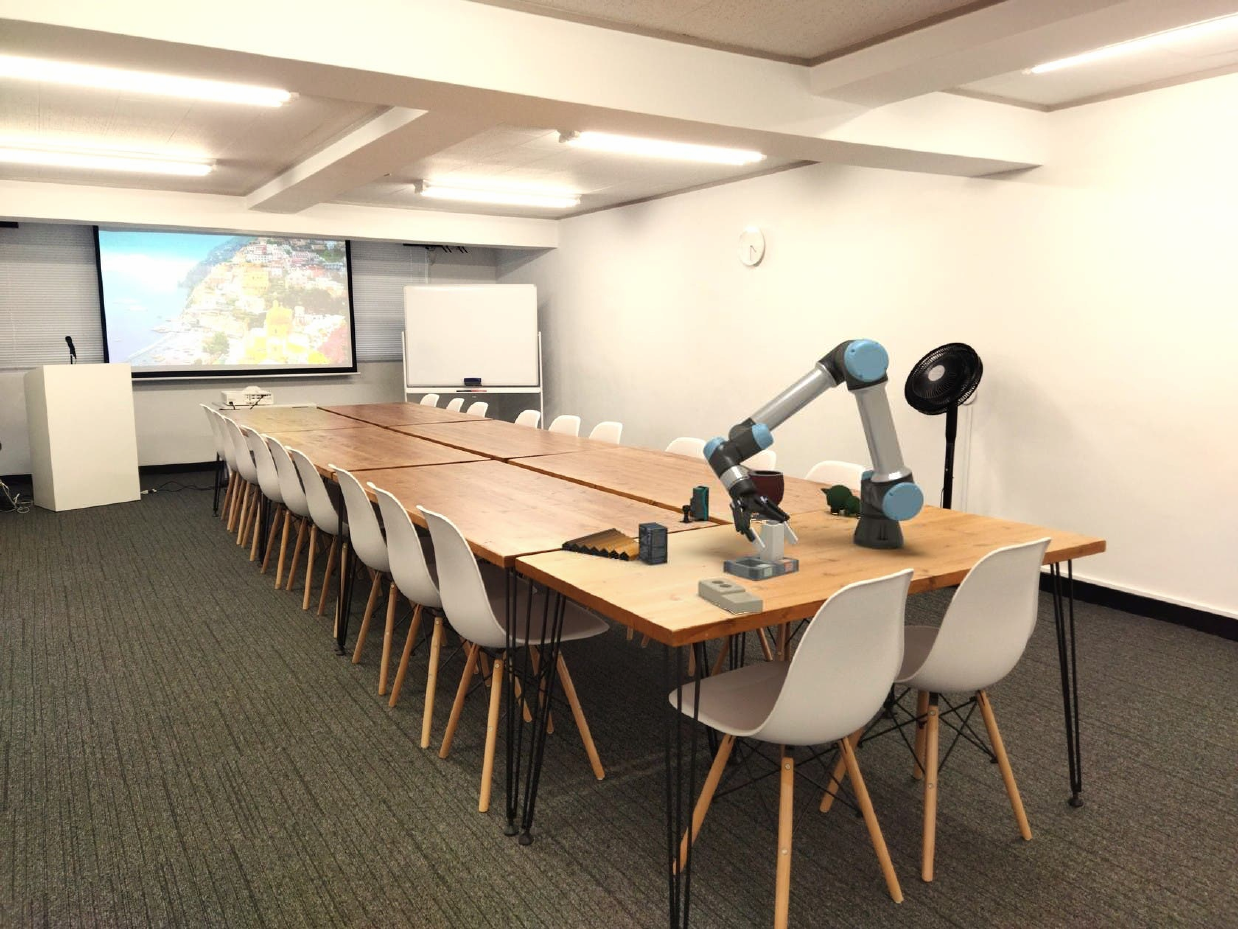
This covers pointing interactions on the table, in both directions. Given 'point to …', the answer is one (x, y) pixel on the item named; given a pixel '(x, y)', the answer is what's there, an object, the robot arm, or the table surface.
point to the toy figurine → (842, 500)
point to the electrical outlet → (729, 595)
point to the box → (653, 543)
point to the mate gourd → (767, 486)
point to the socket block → (760, 567)
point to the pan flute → (605, 545)
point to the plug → (772, 541)
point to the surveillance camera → (697, 505)
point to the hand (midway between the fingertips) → (778, 546)
